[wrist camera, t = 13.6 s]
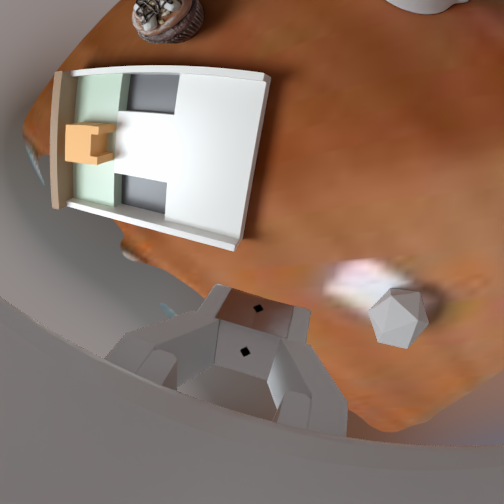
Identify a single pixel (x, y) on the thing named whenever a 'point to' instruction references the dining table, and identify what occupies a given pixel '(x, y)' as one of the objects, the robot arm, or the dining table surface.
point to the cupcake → (167, 19)
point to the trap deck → (163, 147)
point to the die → (399, 317)
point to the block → (88, 142)
